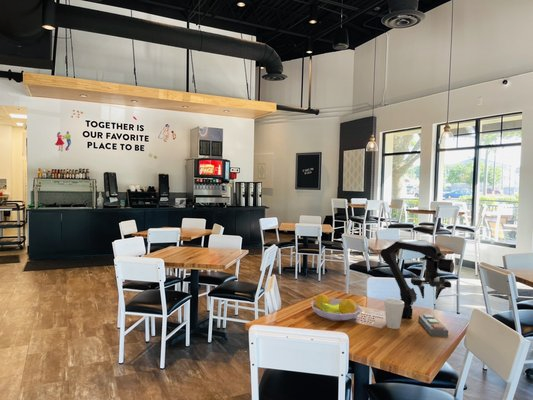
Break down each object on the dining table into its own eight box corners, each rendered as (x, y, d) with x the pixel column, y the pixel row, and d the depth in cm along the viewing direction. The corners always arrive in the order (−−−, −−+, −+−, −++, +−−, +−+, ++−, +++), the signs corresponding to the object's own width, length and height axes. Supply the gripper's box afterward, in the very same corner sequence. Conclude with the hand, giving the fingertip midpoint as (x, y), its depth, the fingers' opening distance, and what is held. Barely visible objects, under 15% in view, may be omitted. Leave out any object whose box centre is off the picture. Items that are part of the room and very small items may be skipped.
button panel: (430, 335, 183) (431, 329, 183) (418, 320, 203) (418, 315, 203) (448, 336, 182) (448, 330, 182) (434, 321, 202) (434, 316, 202)
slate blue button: (425, 320, 198) (425, 316, 198) (423, 317, 202) (423, 314, 202) (433, 320, 198) (433, 317, 197) (431, 318, 201) (431, 314, 201)
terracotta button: (434, 330, 184) (434, 326, 184) (431, 327, 188) (432, 323, 188) (443, 331, 184) (443, 327, 184) (440, 327, 188) (440, 324, 188)
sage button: (429, 325, 191) (430, 321, 191) (427, 322, 195) (427, 318, 195) (438, 325, 191) (438, 322, 190) (435, 322, 195) (435, 319, 194)
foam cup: (402, 324, 196) (404, 300, 195) (402, 331, 187) (404, 305, 186) (383, 322, 199) (384, 297, 198) (382, 328, 190) (384, 302, 189)
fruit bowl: (335, 305, 223) (336, 286, 222) (371, 320, 200) (372, 299, 200) (297, 312, 207) (298, 292, 207) (332, 330, 185) (333, 307, 184)
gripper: (417, 271, 191) (415, 302, 192) (456, 274, 190) (454, 304, 190) (411, 266, 203) (409, 295, 203) (447, 269, 201) (445, 298, 201)
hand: (429, 298), depth 199 cm, fingers open, 6 cm apart
